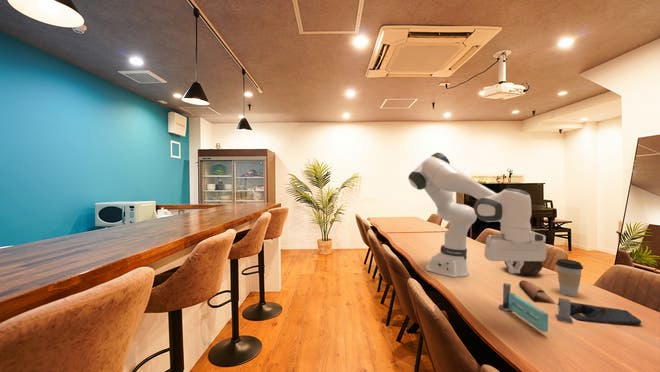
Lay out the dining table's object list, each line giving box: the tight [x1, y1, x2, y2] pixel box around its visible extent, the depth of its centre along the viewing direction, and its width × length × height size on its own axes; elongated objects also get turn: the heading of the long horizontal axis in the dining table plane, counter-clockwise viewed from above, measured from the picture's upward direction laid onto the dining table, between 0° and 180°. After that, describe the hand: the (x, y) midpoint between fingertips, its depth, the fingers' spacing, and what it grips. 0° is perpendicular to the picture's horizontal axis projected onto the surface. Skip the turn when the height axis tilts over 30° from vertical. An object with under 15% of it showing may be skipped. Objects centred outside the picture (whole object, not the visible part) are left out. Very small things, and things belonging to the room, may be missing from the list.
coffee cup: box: [555, 258, 584, 297], centre depth 120 cm, size 9×9×15 cm
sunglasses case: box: [518, 279, 556, 305], centre depth 119 cm, size 18×7×7 cm, turn 162°
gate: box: [509, 292, 549, 333], centre depth 95 cm, size 16×2×6 cm, turn 1°
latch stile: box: [555, 297, 574, 324], centre depth 98 cm, size 4×4×8 cm
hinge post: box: [498, 282, 514, 313], centre depth 105 cm, size 5×5×10 cm
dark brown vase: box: [503, 261, 544, 276], centre depth 147 cm, size 18×18×28 cm
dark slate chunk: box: [556, 301, 642, 325], centre depth 102 cm, size 15×22×5 cm
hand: (514, 272), depth 93 cm, fingers closed
